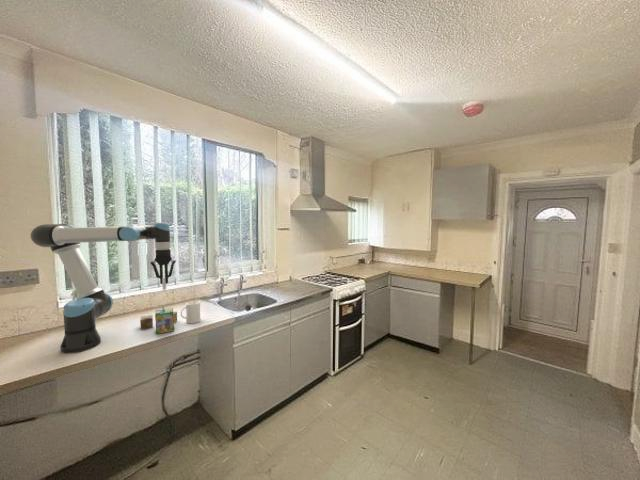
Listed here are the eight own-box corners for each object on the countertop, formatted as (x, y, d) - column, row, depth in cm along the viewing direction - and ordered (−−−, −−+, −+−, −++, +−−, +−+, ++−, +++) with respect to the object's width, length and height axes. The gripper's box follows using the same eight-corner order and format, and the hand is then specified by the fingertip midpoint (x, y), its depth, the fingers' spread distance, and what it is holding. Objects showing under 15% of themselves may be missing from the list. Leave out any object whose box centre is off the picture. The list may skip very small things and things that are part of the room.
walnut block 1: (140, 329, 154) (140, 319, 153) (141, 326, 159) (140, 316, 159) (152, 327, 157) (152, 317, 157) (152, 324, 162) (152, 314, 162)
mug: (182, 326, 160) (182, 306, 159) (178, 322, 166) (178, 303, 165) (202, 321, 168) (202, 302, 167) (198, 317, 174) (197, 300, 173)
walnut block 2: (162, 324, 162) (162, 314, 162) (167, 321, 168) (167, 311, 168) (173, 324, 163) (172, 314, 162) (177, 320, 169) (176, 311, 168)
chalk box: (174, 331, 152) (173, 306, 151) (155, 334, 148) (154, 308, 147) (173, 325, 160) (173, 302, 159) (156, 328, 155) (155, 304, 155)
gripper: (148, 250, 145) (150, 291, 146) (174, 249, 150) (176, 289, 151) (151, 248, 152) (152, 288, 153) (176, 248, 157) (177, 286, 158)
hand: (164, 289), depth 152 cm, fingers closed
